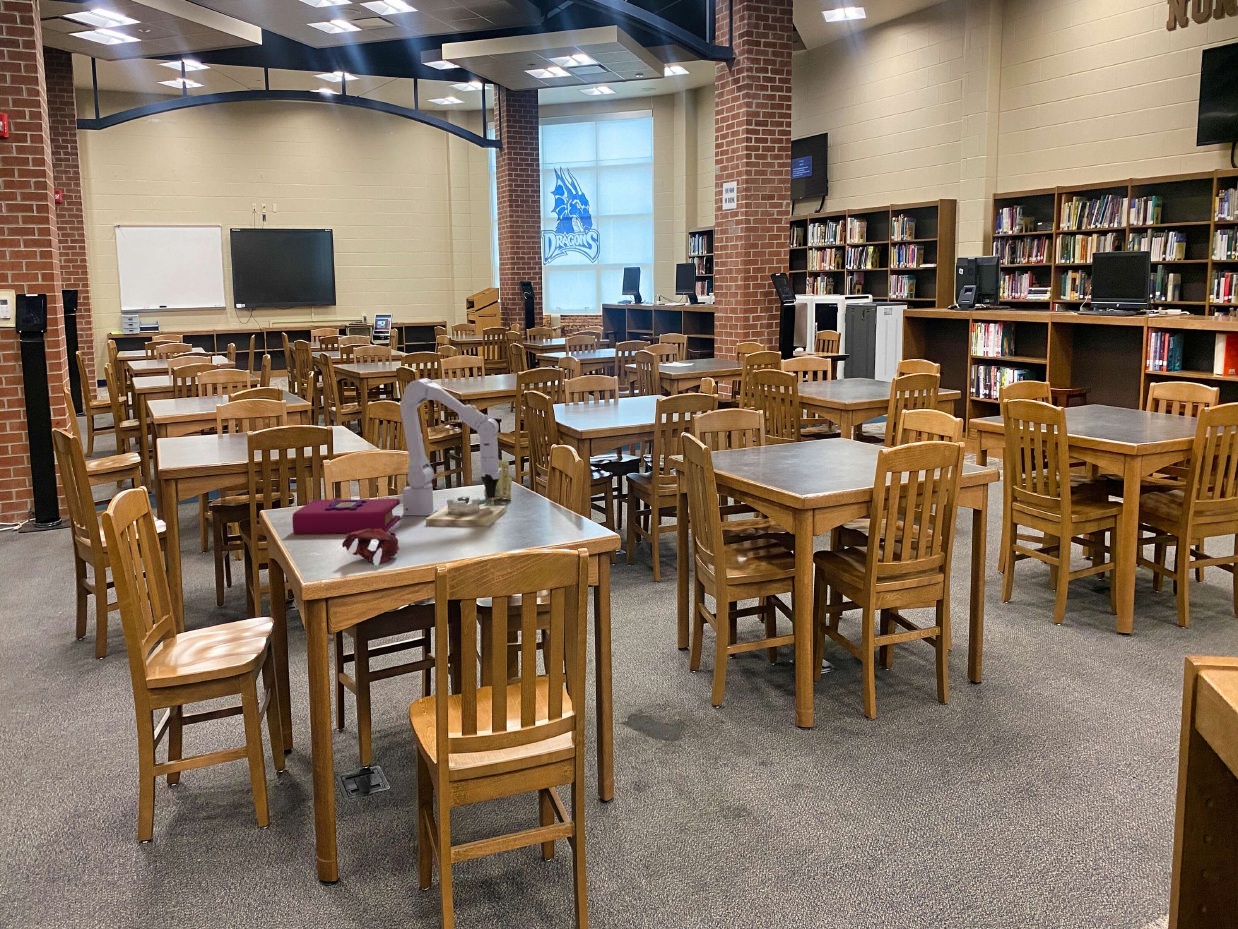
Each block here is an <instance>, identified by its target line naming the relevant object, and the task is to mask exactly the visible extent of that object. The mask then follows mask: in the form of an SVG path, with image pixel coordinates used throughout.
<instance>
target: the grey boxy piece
mask: <svg viewBox="0 0 1238 929" xmlns="http://www.w3.org/2000/svg"><path fill="white" fill-rule="evenodd" d="M483 493H485V496H484V498H483V499H480V497H473V498H472V499H470V495H462V496H460V497H457V499H455V498H453V497H451V498H447V499H446V505H448V514H451V515H471V514H476V513H478V512H479V511H480V510H479V505H480V506H482V505H485V504H490V503H491V504H492V499H491V498H487V495H486V489H485V488H484V490H483Z"/></svg>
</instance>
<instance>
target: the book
mask: <svg viewBox="0 0 1238 929" xmlns="http://www.w3.org/2000/svg"><path fill="white" fill-rule="evenodd" d="M400 504H401V500H400V498H381V499H380V498H379V499H378V498H377V499H376V498H375V499H373V498H371V499H370V498H368V499H365V498H363V499H362V498H361V499H359V498H358V499H328V498H327V499H320V498H319V499H313V500H311V501H309V502H308V503H306V504H305V505H304V506H302V507H301V508H299V509H298V510H296V511H294V512H293V514H292V518H291V519H292V533H293V534H294V535H329V534H328V533H351V532H356V531H359V530H365V529H368V528H370V529H382V530H383V531H385V532H387V531H388V532H389V531H390V530H391V529H392V528H393V527H395V525H396V524H397V523H398V522H399V520H400V519H402V518H401V517H402V516H401V515H397V514H393V510H394V509H395V508H396V507H397V506H399V505H400ZM400 521H401V520H400ZM391 527H392V528H391ZM389 529H390V530H389ZM388 532H387V533H388Z"/></svg>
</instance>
